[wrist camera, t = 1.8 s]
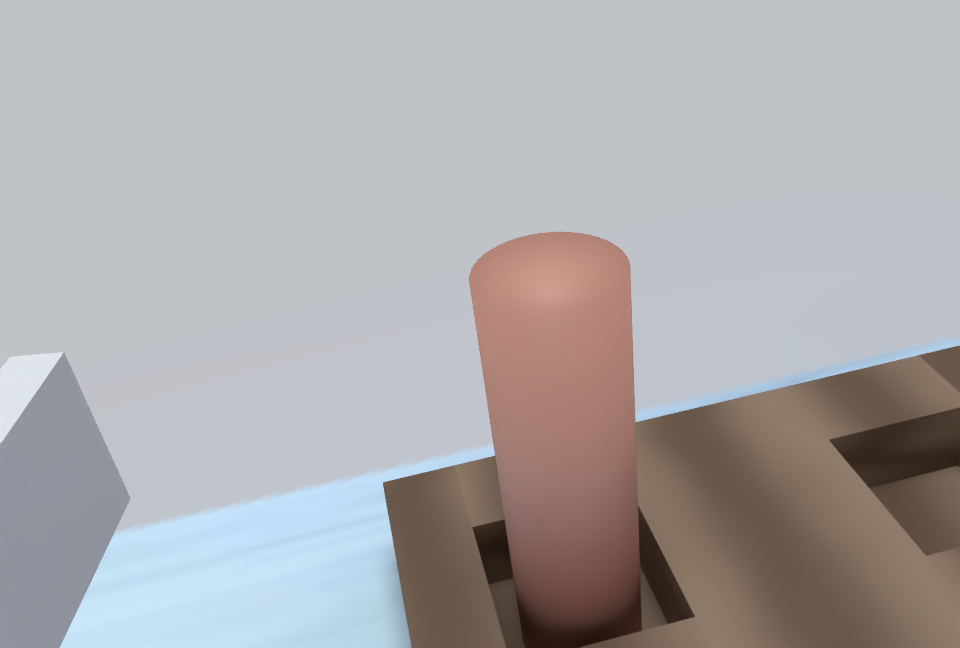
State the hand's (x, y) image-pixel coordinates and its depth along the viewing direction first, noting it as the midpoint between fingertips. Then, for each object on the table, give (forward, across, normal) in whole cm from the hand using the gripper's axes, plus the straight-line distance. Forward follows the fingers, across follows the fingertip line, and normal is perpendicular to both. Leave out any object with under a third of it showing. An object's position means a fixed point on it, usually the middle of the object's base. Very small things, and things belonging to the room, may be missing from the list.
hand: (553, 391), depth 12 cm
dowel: (+10, 0, -18) cm, 20 cm away
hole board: (+11, +7, -19) cm, 23 cm away
